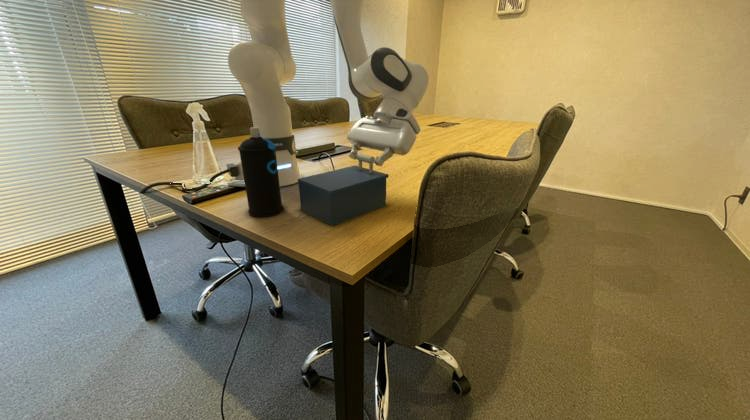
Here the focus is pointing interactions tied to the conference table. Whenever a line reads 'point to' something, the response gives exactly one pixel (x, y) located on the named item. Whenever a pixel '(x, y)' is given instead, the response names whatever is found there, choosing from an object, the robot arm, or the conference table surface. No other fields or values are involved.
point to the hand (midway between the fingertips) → (364, 161)
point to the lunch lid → (345, 177)
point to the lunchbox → (342, 202)
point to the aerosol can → (260, 175)
